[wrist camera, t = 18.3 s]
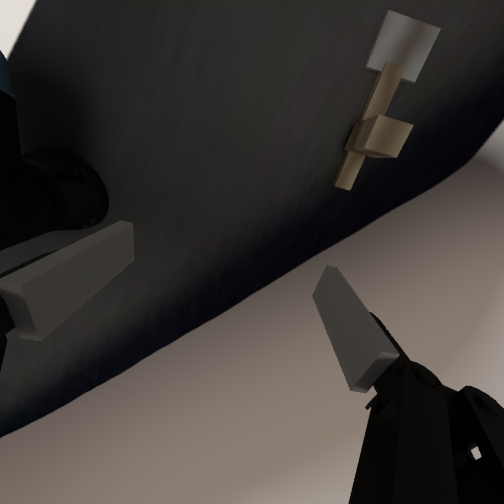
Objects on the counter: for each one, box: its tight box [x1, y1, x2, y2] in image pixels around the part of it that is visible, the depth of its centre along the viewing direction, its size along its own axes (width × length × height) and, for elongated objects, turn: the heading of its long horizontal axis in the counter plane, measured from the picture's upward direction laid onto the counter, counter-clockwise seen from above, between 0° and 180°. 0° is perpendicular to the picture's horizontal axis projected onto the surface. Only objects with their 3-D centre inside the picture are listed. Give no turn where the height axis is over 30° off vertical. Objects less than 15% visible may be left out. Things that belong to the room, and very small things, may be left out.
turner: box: [333, 10, 440, 190], centre depth 29 cm, size 8×23×8 cm, turn 166°
